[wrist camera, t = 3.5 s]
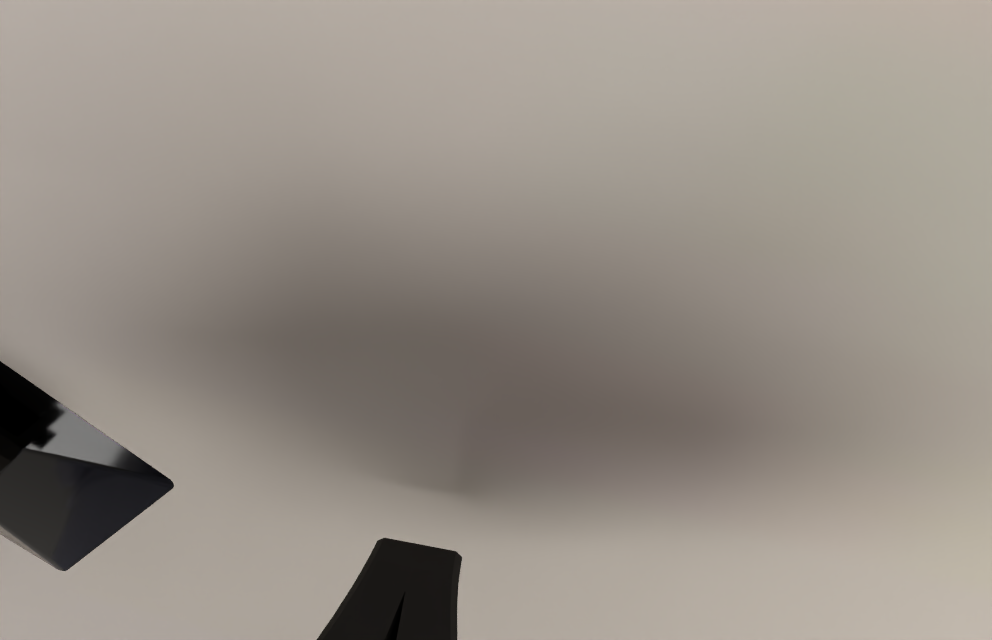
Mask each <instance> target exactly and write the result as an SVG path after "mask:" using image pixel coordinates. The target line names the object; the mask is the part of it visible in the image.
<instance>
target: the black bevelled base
mask: <svg viewBox="0 0 992 640" xmlns="http://www.w3.org/2000/svg"><path fill="white" fill-rule="evenodd" d="M173 487H174V484H173V482H172V481H171V480H170V479H169V478H167V477H166V476H164V475H163V474H161V473H160V472H159V471H157V470H156V469H154V468H153V467H151V466H150V465H148V464H147V463H146V462H144V461H143V460H141V459H140V458H138V457H137V456H136V455H134V454H133V453H131V452H130V451H128V450H127V449H126V448H124V447H123V446H121V445H120V444H118V443H117V442H115V441H114V440H113V439H111V438H110V437H108V436H107V435H105V434H104V433H103V432H101V431H100V430H98V429H97V428H95V427H94V426H92V425H91V424H90V423H88V422H87V421H85V420H84V419H82V418H81V417H80V416H78V415H77V414H75V413H74V412H72V411H71V410H70V409H68V408H67V407H65V406H64V405H62V404H61V403H59V402H58V401H57V400H55V399H54V398H52V397H51V396H49V395H48V394H47V393H45V392H44V391H42V390H41V389H39V388H38V387H36V386H35V385H34V384H32V383H31V382H29V381H28V380H26V379H25V378H24V377H22V376H21V375H19V374H18V373H16V372H15V371H14V370H12V369H11V368H9V367H8V366H6V365H5V364H3V363H2V362H1V361H0V535H2V536H4V537H5V538H7V539H9V540H10V541H12V542H14V543H15V544H17V545H19V546H20V547H22V548H23V549H25V550H27V551H28V552H30V553H32V554H33V555H35V556H37V557H38V558H40V559H42V560H43V561H45V562H46V563H48V564H50V565H51V566H53V567H55V568H56V569H58V570H61V571H66V570H68V569H69V568H71V567H72V566H73V565H74V564H76V563H77V562H78V561H80V560H81V559H82V558H83V557H85V556H86V555H87V554H89V553H90V552H91V551H93V550H94V549H95V548H96V547H98V546H99V545H100V544H102V543H103V542H104V541H105V540H107V539H108V538H109V537H111V536H112V535H113V534H114V533H116V532H117V531H118V530H120V529H121V528H122V527H123V526H125V525H126V524H127V523H129V522H130V521H131V520H133V519H134V518H135V517H136V516H138V515H139V514H140V513H142V512H143V511H144V510H145V509H147V508H148V507H149V506H151V505H152V504H153V503H154V502H156V501H157V500H158V499H160V498H161V497H162V496H163V495H165V494H166V493H167V492H169V491H170V490H171V489H172V488H173Z"/></svg>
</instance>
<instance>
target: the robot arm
mask: <svg viewBox="0 0 992 640" xmlns="http://www.w3.org/2000/svg"><path fill="white" fill-rule="evenodd" d="M461 561H462V557H461V556H460V555H459V554H458V553H457V552H456V551H451V550H446V549H441V548H435V547H430V546H425V545H420V544H414V543H409V542H404V541H398V540H393V539H388V538H383V539H381V540H378V541H377V543H376V545H375V547H374V549H373V551H372V553H371V555H370V557H369V558H368V560H367V562H366V564H365V566H364V567H363V569H362V571H361V573H360V574H359V576H358V578H357V579H356V581H355V583H354V584H353V586H352V588H351V589H350V591H349V592H348V594H347V596H346V597H345V599H344V600H343V602H342V603H341V605H340V606H339V608H338V609H337V611H336V613H335V614H334V616H333V617H332V619H331V620H330V621H329V623H328V624H327V626H326V627H325V629H324V630H323V631H322V633H321V634H320V636H319V637H318V639H317V640H457V596H458V582H459V574H460V567H461Z"/></svg>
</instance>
